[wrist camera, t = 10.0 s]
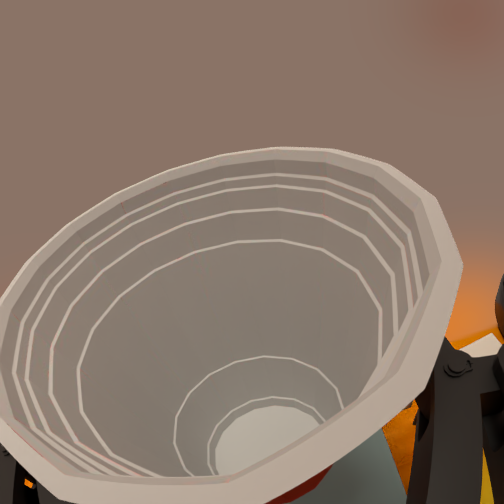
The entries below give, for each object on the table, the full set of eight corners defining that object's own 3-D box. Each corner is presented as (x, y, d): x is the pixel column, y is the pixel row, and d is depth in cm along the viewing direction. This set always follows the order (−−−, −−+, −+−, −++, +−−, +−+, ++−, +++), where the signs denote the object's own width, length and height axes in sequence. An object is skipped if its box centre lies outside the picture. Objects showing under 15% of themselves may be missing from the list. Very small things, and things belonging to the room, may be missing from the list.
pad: (364, 393, 21) (365, 387, 20) (414, 530, 10) (417, 528, 10) (199, 429, 21) (195, 425, 21) (203, 570, 11) (198, 570, 10)
